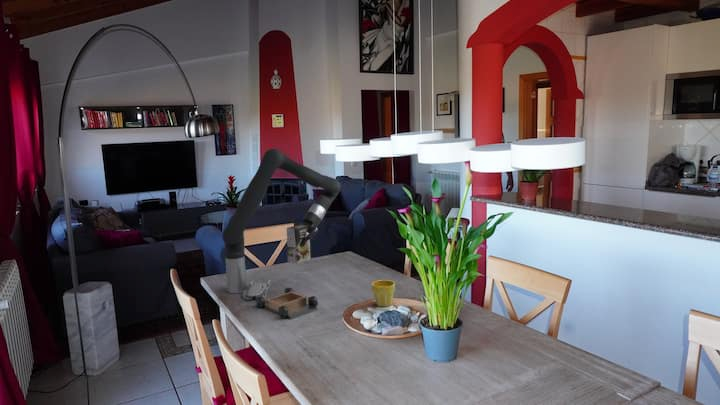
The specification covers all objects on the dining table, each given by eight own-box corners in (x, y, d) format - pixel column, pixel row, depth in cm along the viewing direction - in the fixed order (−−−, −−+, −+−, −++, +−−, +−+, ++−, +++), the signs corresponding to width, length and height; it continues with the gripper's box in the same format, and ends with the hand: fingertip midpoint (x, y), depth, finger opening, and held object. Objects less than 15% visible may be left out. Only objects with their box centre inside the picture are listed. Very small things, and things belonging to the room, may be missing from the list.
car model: (272, 285, 257) (271, 275, 256) (265, 301, 233) (264, 291, 232) (250, 286, 256) (250, 276, 256) (241, 302, 232) (240, 292, 232)
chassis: (254, 305, 227) (253, 295, 226) (285, 295, 238) (285, 285, 238) (287, 320, 208) (287, 308, 207) (320, 309, 220) (319, 298, 219)
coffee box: (297, 264, 227) (296, 229, 224) (287, 261, 231) (285, 227, 228) (311, 259, 234) (309, 225, 231) (301, 257, 238) (299, 223, 235)
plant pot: (368, 306, 220) (367, 285, 219) (378, 299, 229) (377, 278, 228) (389, 310, 215) (389, 288, 214) (399, 302, 224) (398, 281, 223)
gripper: (300, 209, 239) (281, 237, 233) (319, 212, 229) (300, 242, 223) (309, 218, 243) (291, 246, 237) (329, 222, 233) (310, 251, 227)
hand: (296, 244), depth 230 cm, fingers closed on coffee box, 7 cm apart
